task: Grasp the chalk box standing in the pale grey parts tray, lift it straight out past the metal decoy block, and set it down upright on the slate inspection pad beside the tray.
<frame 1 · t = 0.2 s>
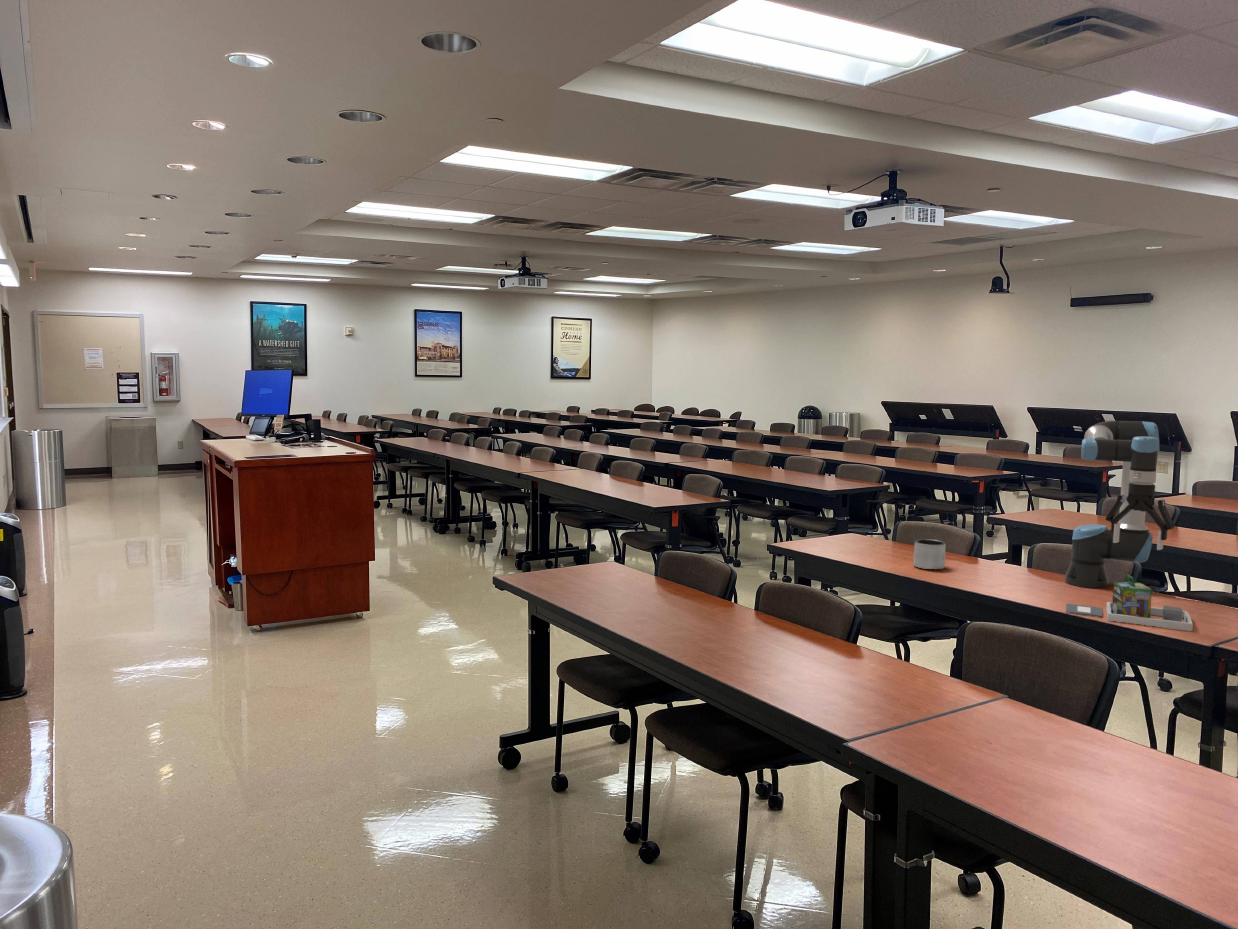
hand: (1137, 545, 283), 26 cm above the table, fingers open, 13 cm apart
planter: (929, 567, 361), on the table
chalk box: (1130, 618, 290), resting in parts tray
inspection pad: (1083, 611, 297), on the table
parts tray: (1147, 619, 288), on the table
metal decoy block: (1171, 623, 284), resting in parts tray
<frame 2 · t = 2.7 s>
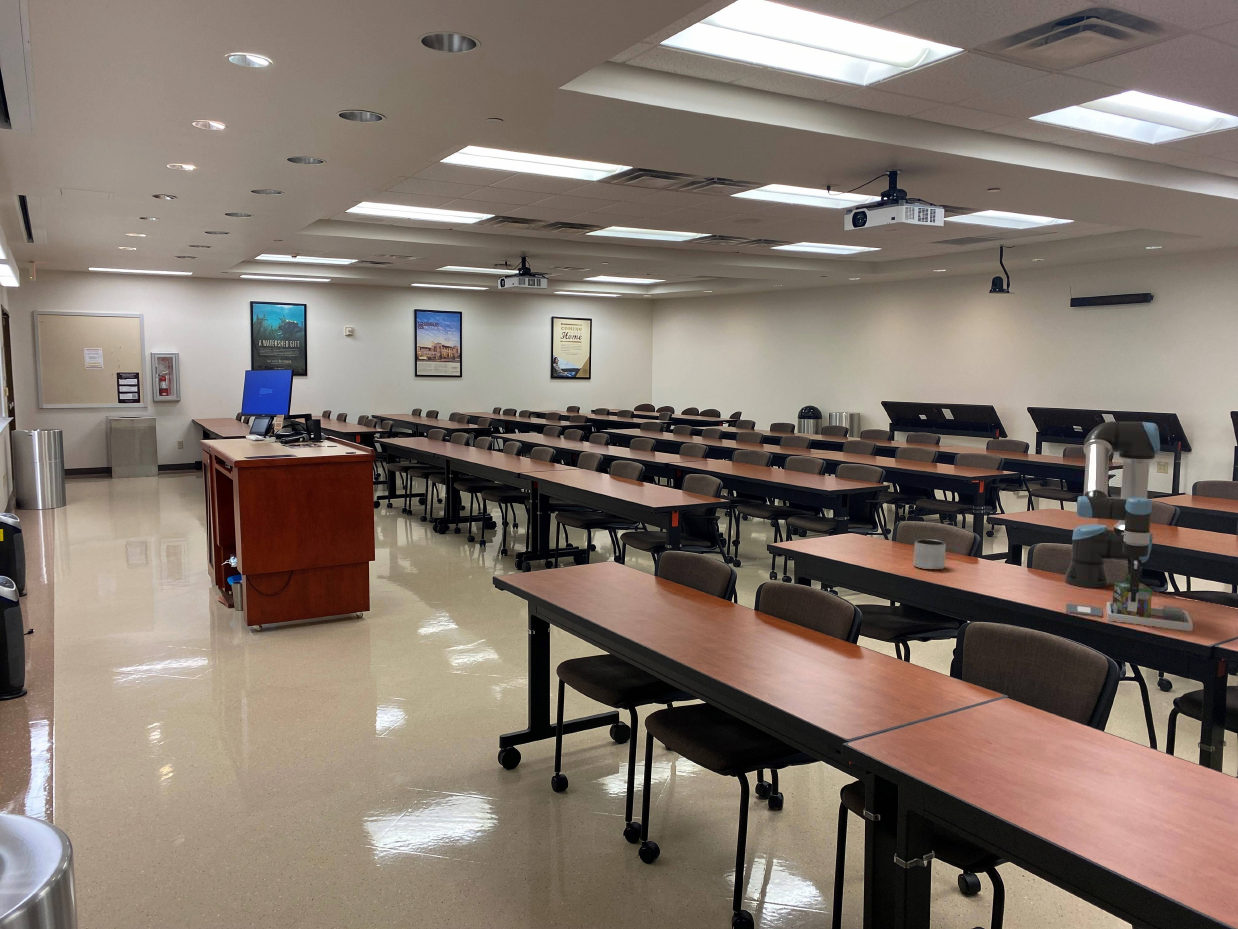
hand: (1131, 606, 289), 4 cm above the table, fingers closed on chalk box, 10 cm apart
chalk box: (1130, 618, 290), resting in parts tray, touching gripper
everything else where it was.
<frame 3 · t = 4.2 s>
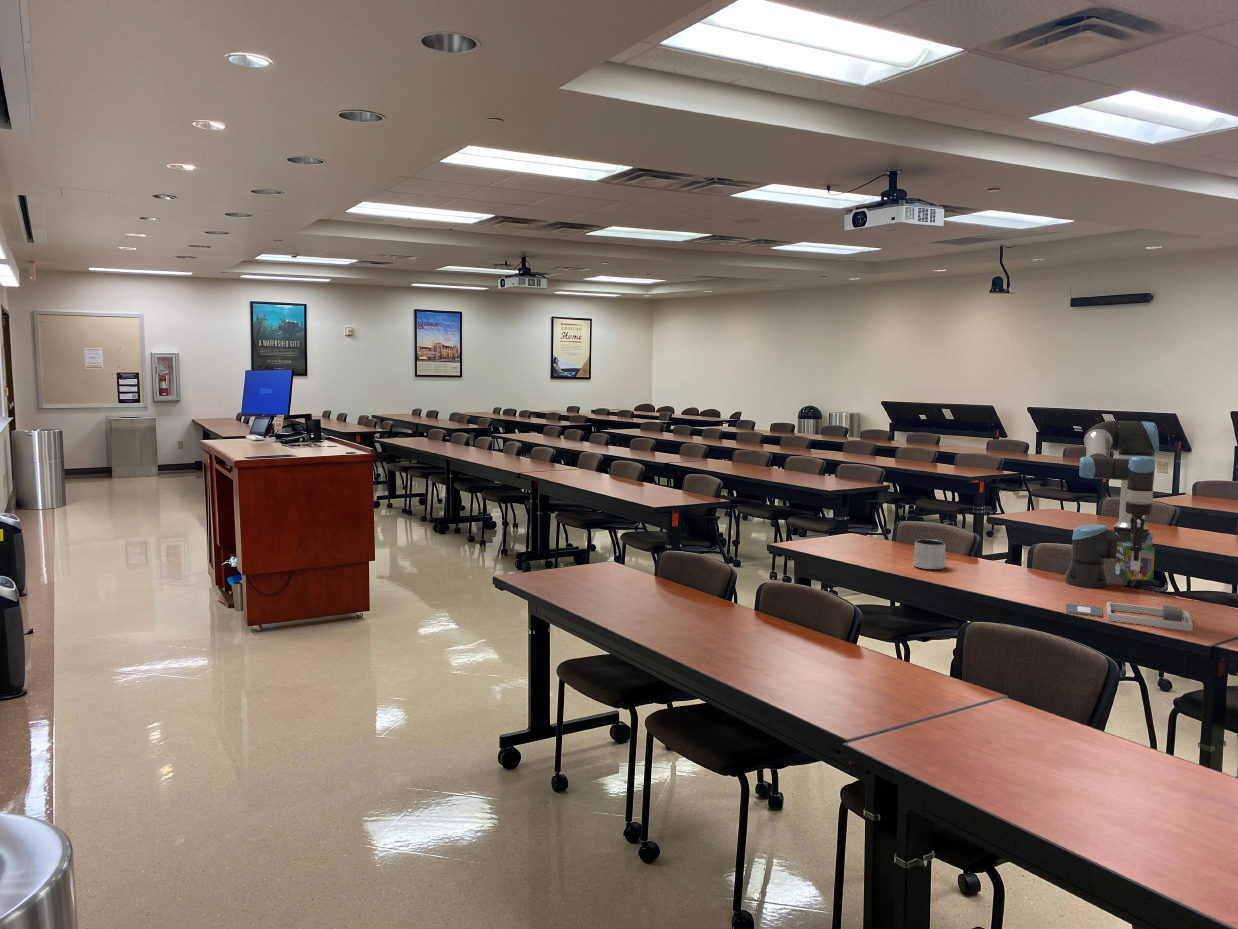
hand: (1134, 566, 288), 18 cm above the table, fingers closed on chalk box, 10 cm apart
chalk box: (1133, 577, 288), point 14 cm above the table, touching gripper
everything else where it was.
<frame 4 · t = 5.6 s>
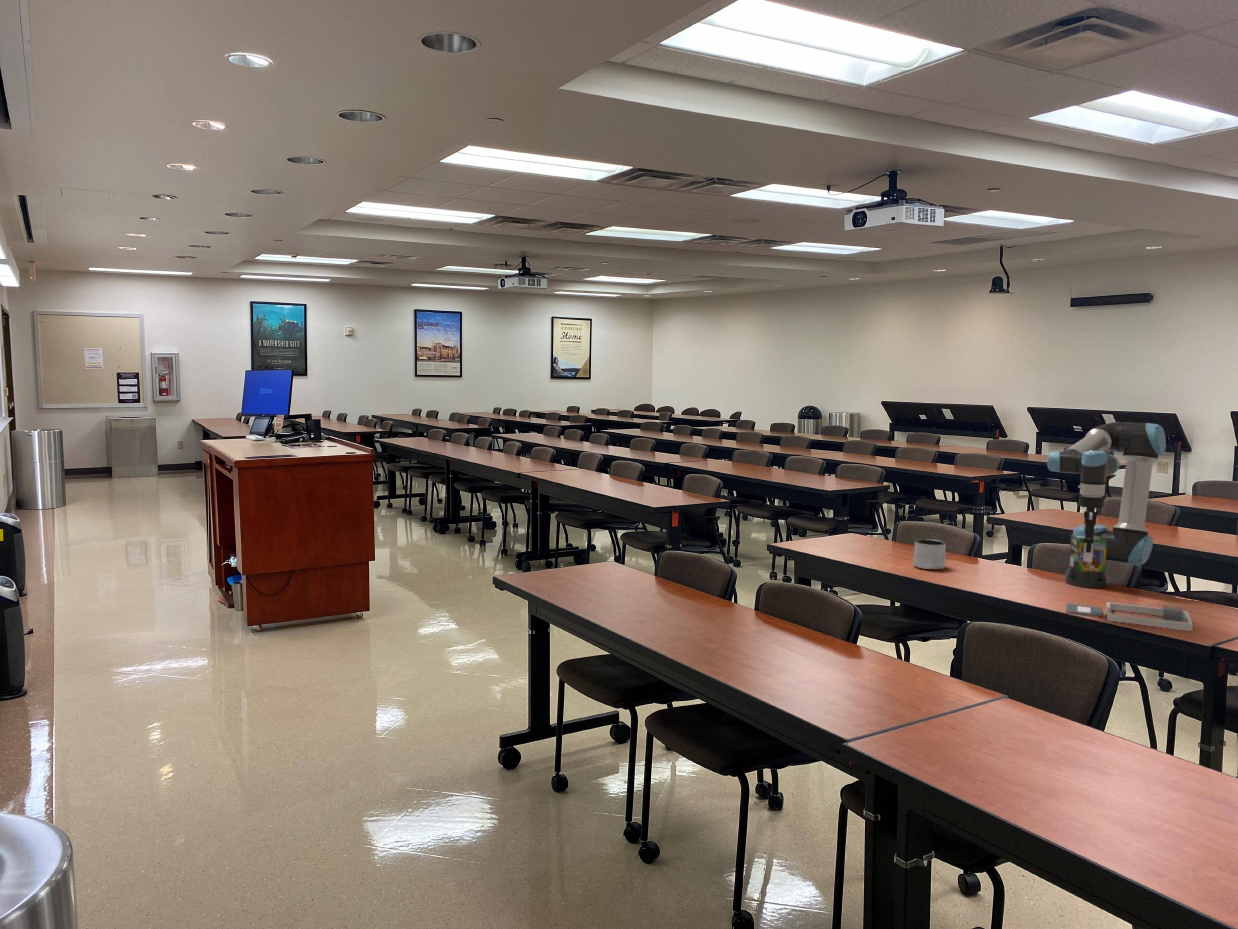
hand: (1087, 558, 295), 19 cm above the table, fingers closed on chalk box, 10 cm apart
chalk box: (1086, 569, 296), point 15 cm above the table, touching gripper
everything else where it was.
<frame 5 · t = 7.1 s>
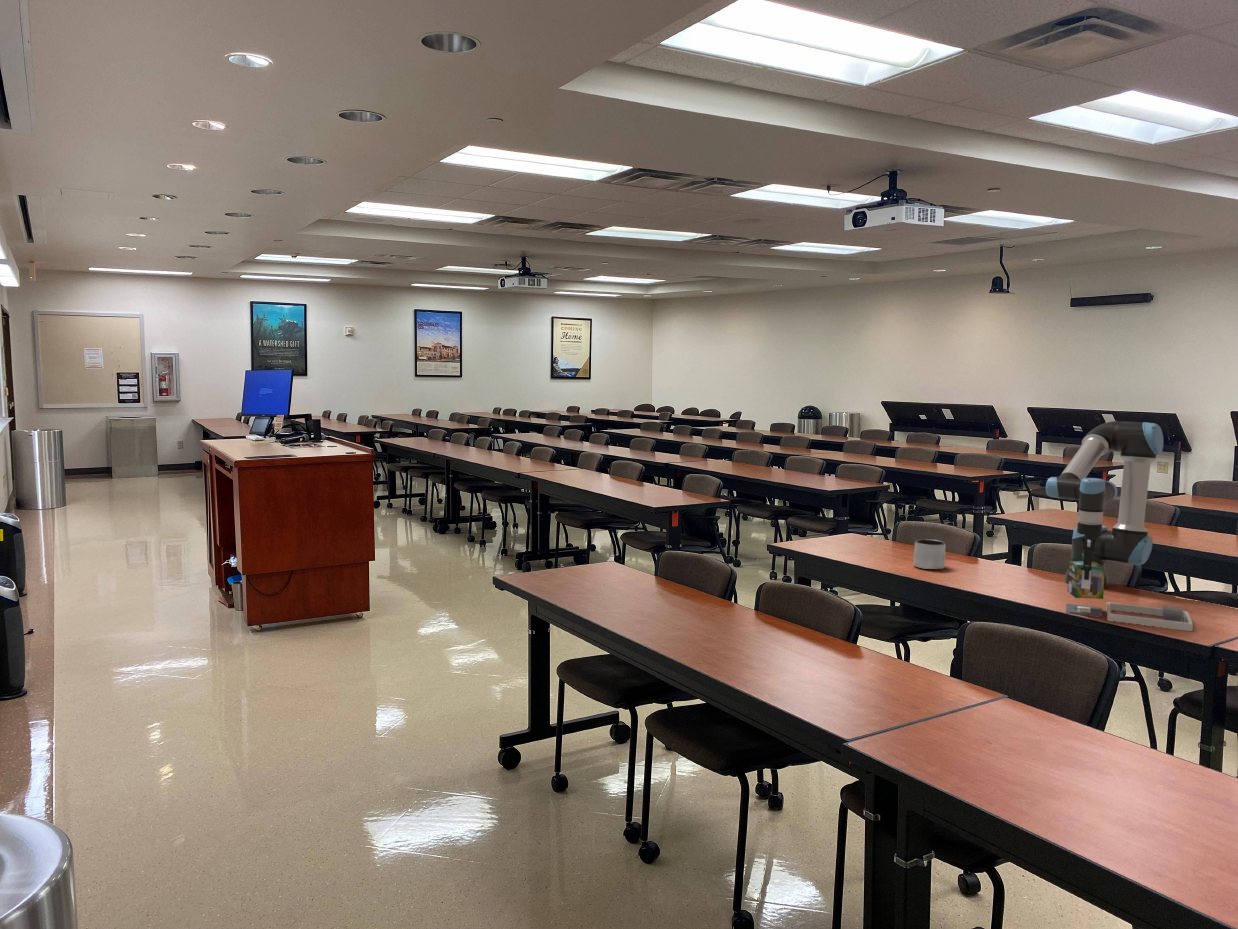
hand: (1085, 584, 296), 10 cm above the table, fingers closed on chalk box, 10 cm apart
chalk box: (1084, 596, 297), point 5 cm above the table, touching gripper
everything else where it was.
when the fingers open (6 cm above the table, at t = 8.5 s): chalk box drops 1 cm, resting on inspection pad.
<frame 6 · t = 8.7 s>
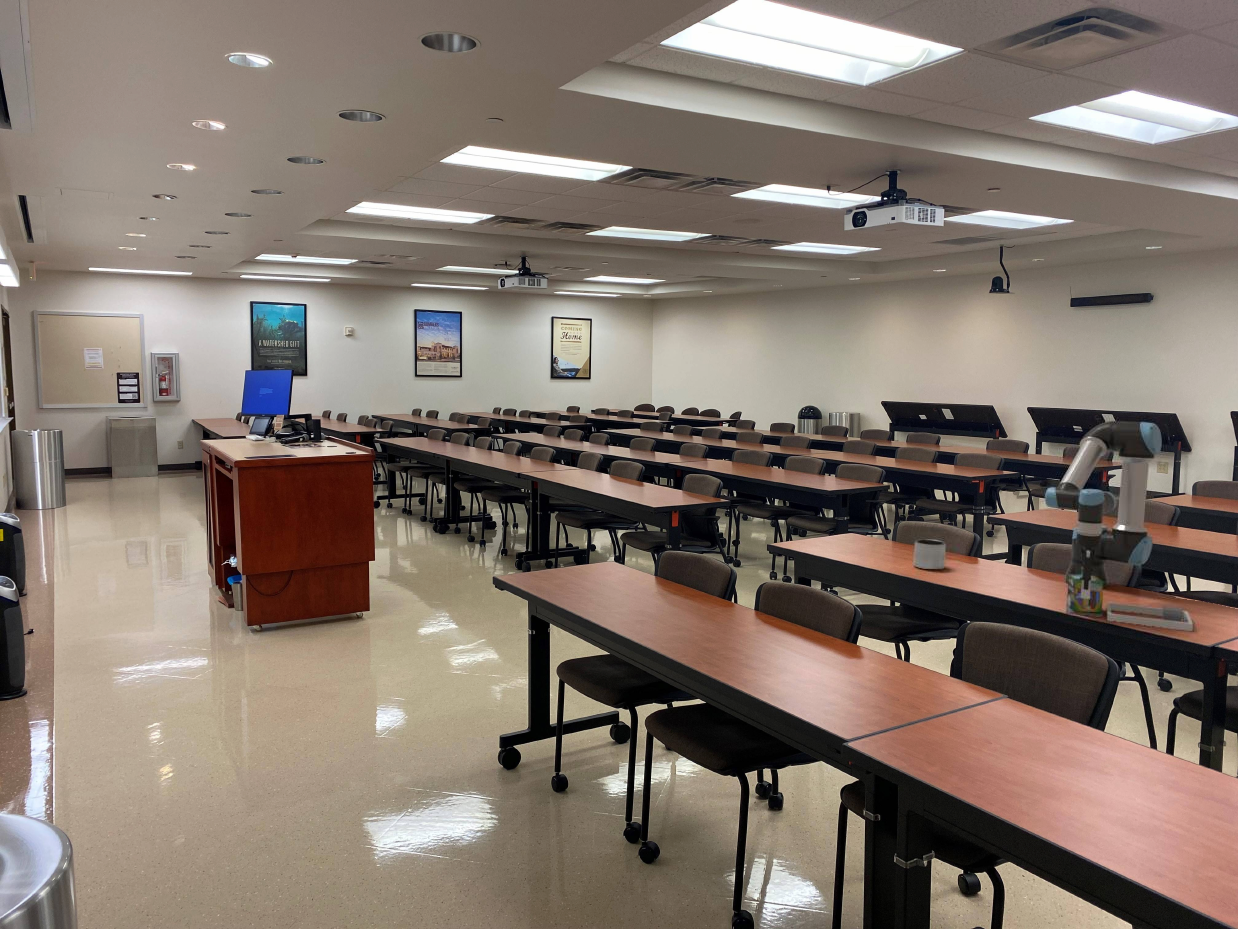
hand: (1085, 593, 297), 6 cm above the table, fingers open, 12 cm apart
chalk box: (1083, 609, 298), resting on inspection pad
everything else where it was.
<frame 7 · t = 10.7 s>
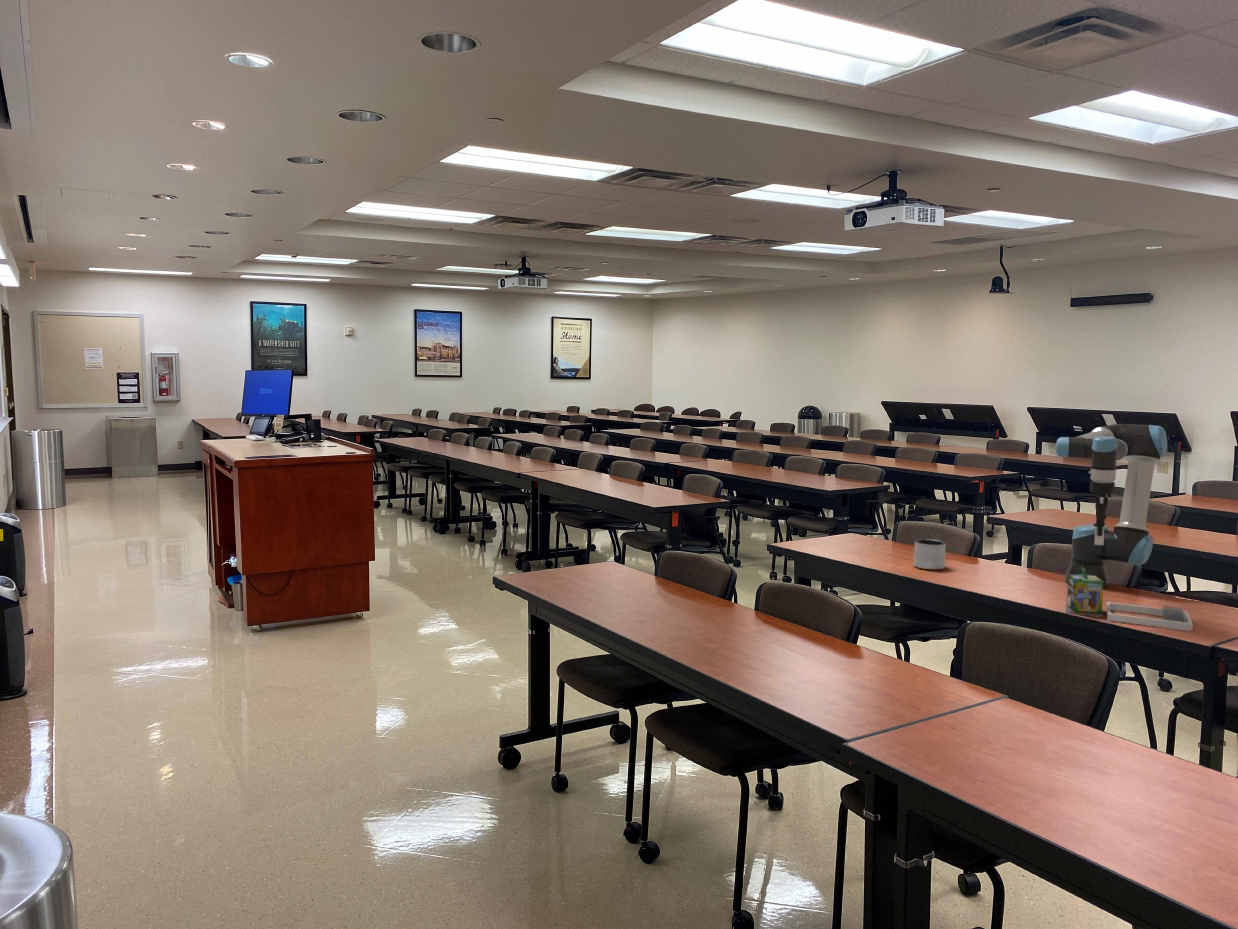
hand: (1098, 540, 297), 25 cm above the table, fingers open, 13 cm apart
nothing on the table moved.
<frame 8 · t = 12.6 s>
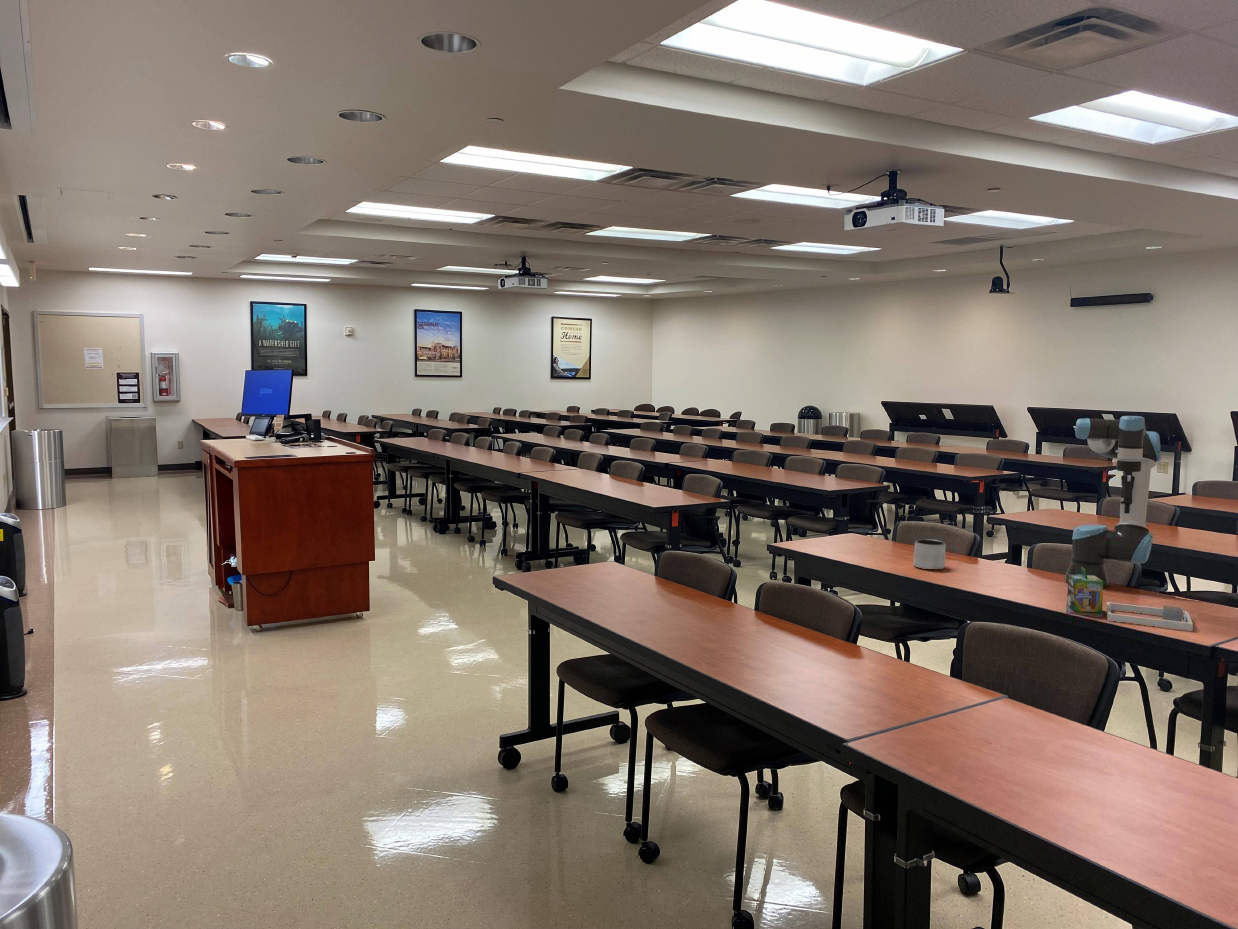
hand: (1124, 519, 300), 32 cm above the table, fingers open, 13 cm apart
nothing on the table moved.
at the end: chalk box inside the target area on the inspection pad (0.2 cm from its centre), point 0.4 cm above the inspection pad's base; chalk box tilted 0°; the gripper is holding nothing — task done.
